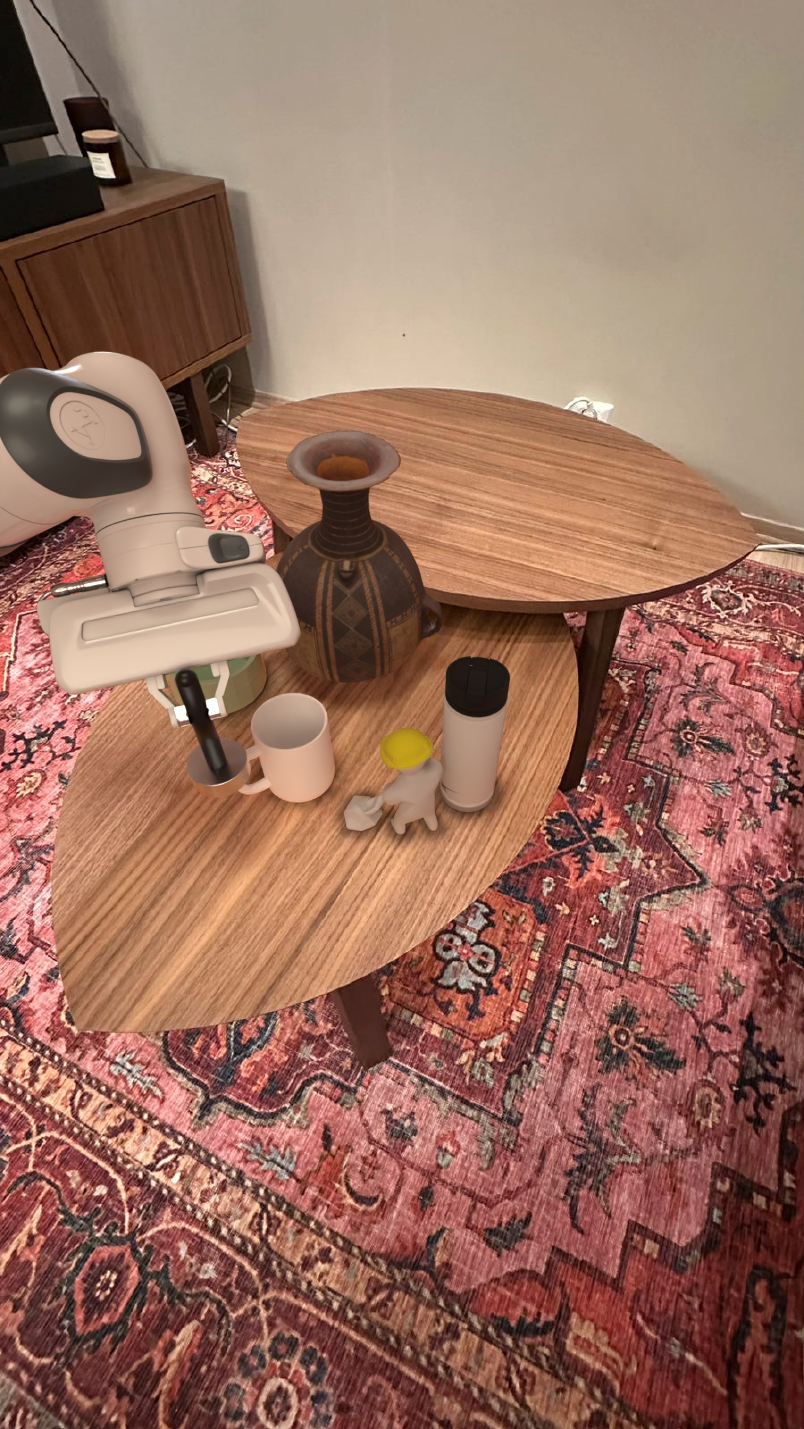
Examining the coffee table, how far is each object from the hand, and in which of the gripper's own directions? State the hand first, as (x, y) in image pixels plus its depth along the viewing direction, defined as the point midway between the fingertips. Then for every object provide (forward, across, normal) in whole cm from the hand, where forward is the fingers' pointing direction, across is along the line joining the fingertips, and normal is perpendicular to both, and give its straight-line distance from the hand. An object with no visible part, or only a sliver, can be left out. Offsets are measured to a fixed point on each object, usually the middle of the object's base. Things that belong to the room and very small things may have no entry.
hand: (201, 722), depth 59 cm
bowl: (-3, 0, +34) cm, 34 cm away
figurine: (+16, +16, +15) cm, 27 cm away
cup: (+10, +6, +20) cm, 24 cm away
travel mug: (+16, +25, +15) cm, 34 cm away
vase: (-2, +19, +33) cm, 38 cm away
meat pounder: (+6, 0, +6) cm, 8 cm away
